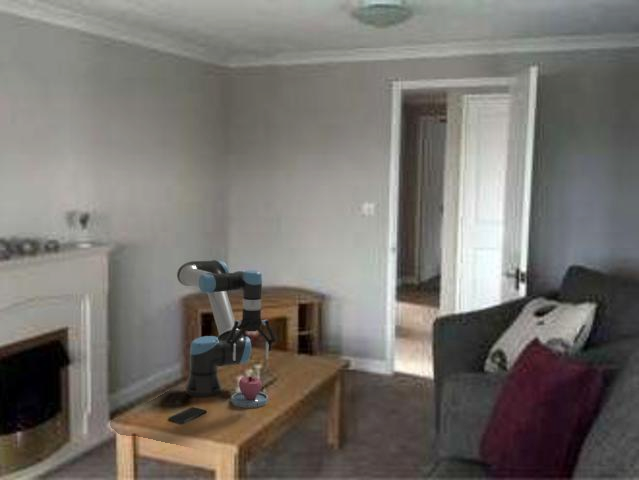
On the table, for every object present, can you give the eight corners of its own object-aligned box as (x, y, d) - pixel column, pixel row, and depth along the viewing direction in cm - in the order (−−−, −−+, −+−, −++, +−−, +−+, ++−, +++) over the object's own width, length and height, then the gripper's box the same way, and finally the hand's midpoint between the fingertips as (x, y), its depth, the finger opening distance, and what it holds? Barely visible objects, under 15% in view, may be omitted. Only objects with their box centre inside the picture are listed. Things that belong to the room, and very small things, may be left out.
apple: (265, 399, 280) (265, 376, 279) (248, 403, 274) (248, 379, 273) (251, 393, 287) (252, 370, 286) (234, 397, 281) (235, 374, 280)
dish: (233, 408, 272) (234, 403, 271) (229, 396, 286) (229, 391, 286) (270, 406, 275) (270, 401, 275) (264, 394, 290) (265, 390, 289)
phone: (208, 410, 266) (182, 422, 253) (208, 413, 266) (182, 425, 253) (192, 406, 270) (166, 418, 257) (192, 409, 270) (166, 420, 257)
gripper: (222, 311, 270) (221, 362, 272) (283, 310, 276) (281, 360, 278) (220, 307, 277) (219, 357, 280) (280, 306, 283) (278, 355, 286)
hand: (250, 359), depth 279 cm, fingers open, 13 cm apart
